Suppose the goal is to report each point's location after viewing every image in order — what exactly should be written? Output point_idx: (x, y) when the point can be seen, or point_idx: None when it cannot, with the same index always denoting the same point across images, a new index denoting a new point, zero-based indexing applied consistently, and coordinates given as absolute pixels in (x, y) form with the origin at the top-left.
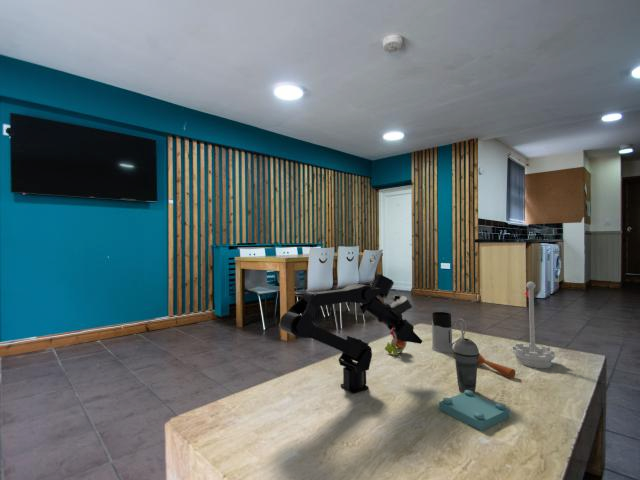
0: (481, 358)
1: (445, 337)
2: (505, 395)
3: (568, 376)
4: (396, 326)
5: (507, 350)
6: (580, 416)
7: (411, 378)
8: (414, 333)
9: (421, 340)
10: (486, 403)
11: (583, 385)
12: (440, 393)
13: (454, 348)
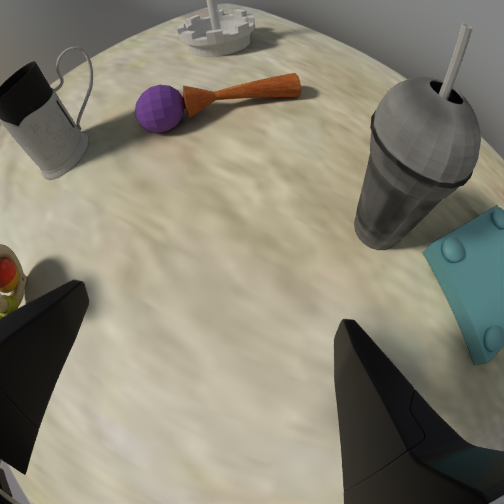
0: (206, 93)
1: (61, 123)
2: None
3: (295, 38)
4: (26, 431)
5: (146, 55)
6: None
7: (243, 373)
8: (440, 424)
9: (360, 330)
10: (487, 237)
11: (334, 43)
12: (389, 320)
13: (441, 168)
